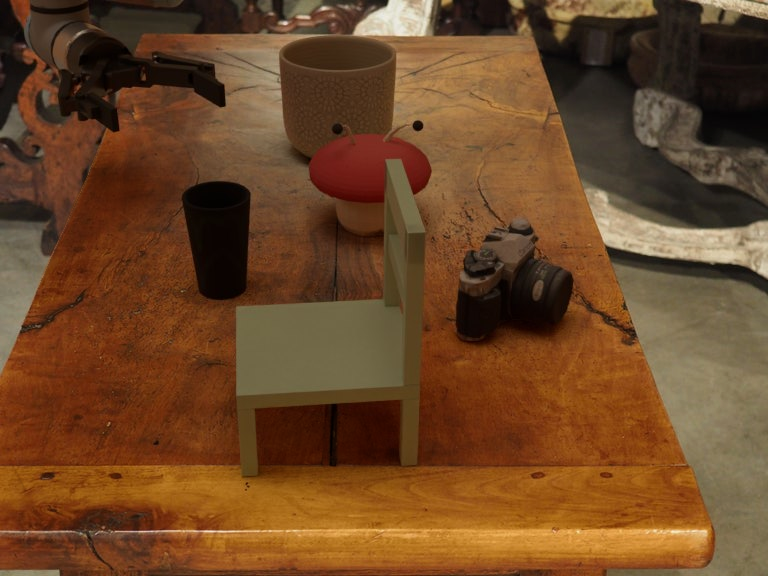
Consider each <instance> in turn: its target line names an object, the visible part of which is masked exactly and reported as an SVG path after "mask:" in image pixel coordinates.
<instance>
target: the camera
mask: <svg viewBox="0 0 768 576" xmlns="http://www.w3.org/2000/svg"><path fill="white" fill-rule="evenodd" d="M539 240H540V237H539V235H538V234H537V235H536V231H535V228H534V227H533V226H532V224H531V222H530V221H529V219H528V218H526V217H514V218H512V219H511V221H510V222H509V225H508V227H507V228H504V227H502V226H494V228H492V229H491V230H490V232H488V233H487V234H486V235H485V237H484V239H483V240H482V242H481V245H480V247H479V250H475V249H468V250H467V251H466V252H465V256H463V257H464V258H463V259H462V262H463V263H462V265H463V269H462V270H461V272H460V273H459V276H458V287H457V288H458V289H457V296H456V297H457V300H456V303H455V327H456V331H455V333H456V335H457V336H458V337H459V339H460V340H462V341H465V342H466V341H467V342H477V341H482V340H483V339H484V338H485V336H486V335H489V334H492V333H494V332H496V330H497V329H498V327H499V325H500V324H502V323H503V322H511V321H517V320H519V321H528V322H534V323H539V324H546V325H547V324H548V325H551V326H556V325H559V324H560V323H561V322H562V320H563V319H564V316H565V315H566V313H567V311H568V309H569V305H570V301H571V298H572V295H573V288H574V277H573V273H572V272H571V271H570V270H568V269H567V270H566V269H564V268H563V267H562V266H559V265H555V264H552V263H549V262H547V261H545V260H543V259H537V258H535V252H536V243H537V242H538V241H539Z"/></svg>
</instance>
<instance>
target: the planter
mask: <svg viewBox="0 0 768 576" xmlns="http://www.w3.org/2000/svg"><path fill="white" fill-rule="evenodd" d="M278 63H279V64H278V65H279V80H280V91H281V104H282V105H281V107H282V120H283V127H284V131H285V134H286V137H287V138H288V141H289V142H290V144H291V145H292V146H293V147H294V148H295V149H296V150H297V151H298V152H299V153H301V154H302V155H304V156H306V157H307V158H309V159H312V158H313V156H314V155H315V153H316V152H317V151H318V150H319V149H321V148H322V147H324V146H325V145H327V144H329V143H330V142H332V141H334V140H337V139H340V138H343V137H346V136H349V134H348V131H347V129H346V128H345V127H343V131H342V133H341V134H339V135H337V134H334V133H333V131H332V127H333V125H334V124H336V123H339V124H341V125H342V126H343V125H346V126H348V127H349V128H350V130H351V132H352V134H353V135H359V134H378V135H387V134H388V133H389V132H390V131H391V130H393V122H394V113H395V112H394V111H395V110H394V109H395V93H396V78H397V77H396V76H397V51H396V50H395V48H394V47H393V46H391V45H390V44H388V43H386V42H384V41H382V40H379V39H375V38H370V37H365V36H358V35H347V34H329V35H328V34H327V35H326V34H325V35H316V36H309V37H303V38H300V39H296V40H293V41H291V42H289V43H286V44H285V45H283V46H282V47H281V48H280V50H279V53H278Z"/></svg>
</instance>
